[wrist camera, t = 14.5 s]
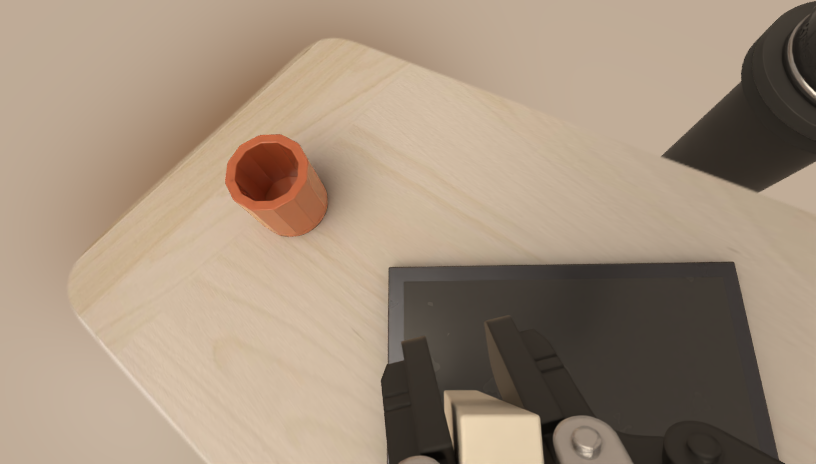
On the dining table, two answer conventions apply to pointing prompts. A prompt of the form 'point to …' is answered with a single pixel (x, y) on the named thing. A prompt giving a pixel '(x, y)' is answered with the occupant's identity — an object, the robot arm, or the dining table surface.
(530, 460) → the stylus
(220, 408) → the dining table surface
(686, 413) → the tablet
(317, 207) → the pen pot
